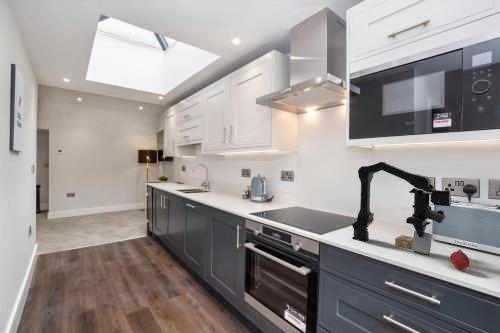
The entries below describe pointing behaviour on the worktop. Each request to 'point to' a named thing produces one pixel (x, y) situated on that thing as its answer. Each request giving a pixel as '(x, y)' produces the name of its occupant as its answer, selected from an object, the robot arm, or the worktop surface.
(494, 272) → the worktop surface
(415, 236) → the grey block
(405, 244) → the walnut block
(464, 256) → the onion
